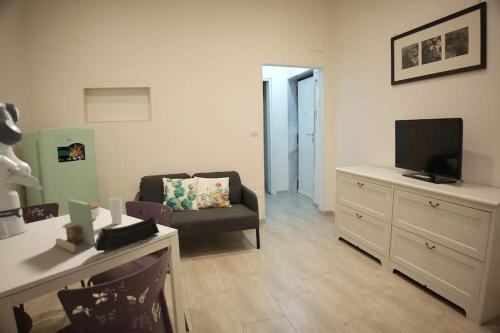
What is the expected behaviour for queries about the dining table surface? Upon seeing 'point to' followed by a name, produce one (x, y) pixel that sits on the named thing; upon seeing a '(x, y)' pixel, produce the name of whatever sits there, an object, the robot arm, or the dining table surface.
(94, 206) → the lidded bowl
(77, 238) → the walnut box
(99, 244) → the magazine
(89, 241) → the wall board
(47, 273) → the dining table surface
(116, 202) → the drinking glass
